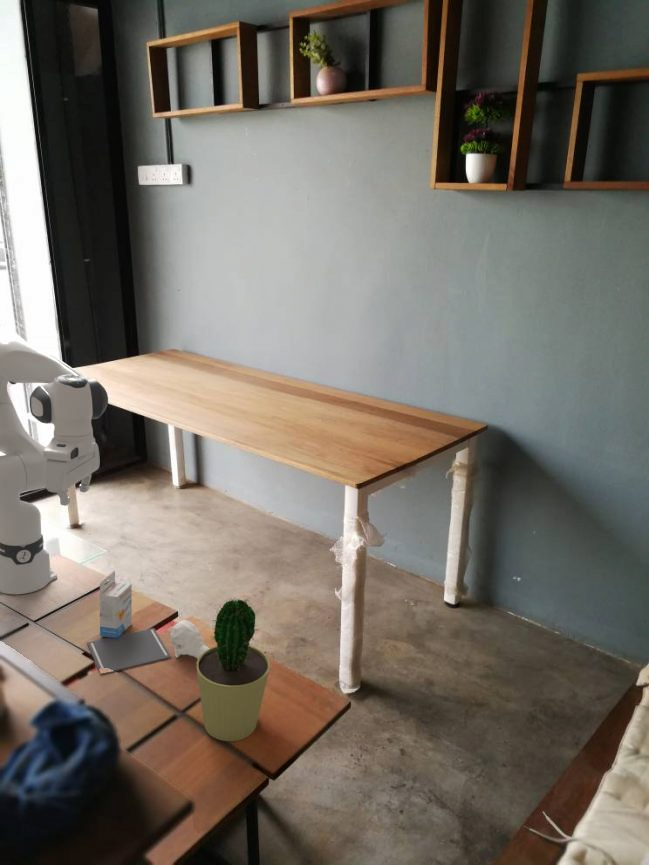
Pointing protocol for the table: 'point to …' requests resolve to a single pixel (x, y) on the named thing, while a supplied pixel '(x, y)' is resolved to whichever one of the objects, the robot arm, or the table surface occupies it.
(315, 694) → the table surface
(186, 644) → the white irregular lumpy piece
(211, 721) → the potted cactus
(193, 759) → the table surface
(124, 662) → the mat
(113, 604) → the ink box
